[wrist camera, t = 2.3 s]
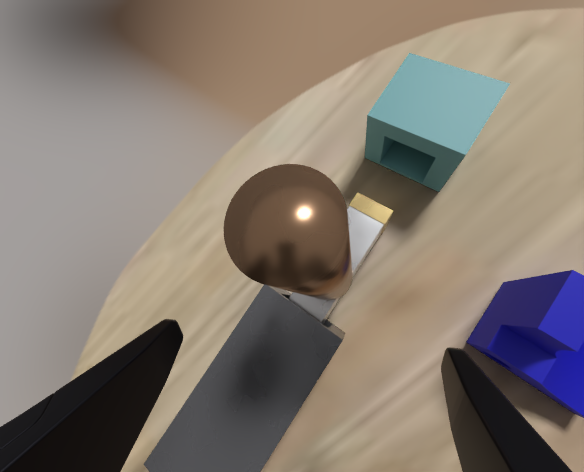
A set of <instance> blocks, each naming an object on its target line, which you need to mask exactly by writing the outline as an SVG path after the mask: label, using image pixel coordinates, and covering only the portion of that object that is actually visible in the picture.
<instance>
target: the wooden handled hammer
mask: <svg viewBox="0 0 584 472" xmlns="http://www.w3.org/2000/svg"><path fill="white" fill-rule="evenodd" d="M392 213H393V210H391V209H389V208H387V207H385V206H383V205H381V204H379V203H377V202H375V201H373V200H371V199H369V198H368V197H366V196H364V195H362V194H360V193H358V192H357V194H356V195H355V197H354V198H353V200H352V201H351V203H350V205H349V208H348V209H347V207H346V204H345V201H344V198H343V196H342V194H341V192H340V191H339V189H338V188H337V186H336V185H335V184H334V183H333V182H332V181H331V179H329V178H328V177H327V176H326V175H324V174H323V173H321V172H319V171H318V170H315V169H313V168H311V167H307V166H304V165H297V164H285V165H278V166H274V167H271V168H268V169H265V170H263V171H261V172H259V173H257V174H256V175H254V176H252V177H251V178H250V179H249V180H247V181H246V182H245V183H244V184H243V185H242V186H241V187H240V188H239V190H238V191H237V192H236V194H235V195H234V197H233V198H232V200H231V202H230V204H229V206H228V209H227V212H226V216H225V221H224V239H225V244H226V248H227V251H228V253H229V255H230V257H231V259H232V261H233V262H234V264H235V265H236V266H237V267H238V268H239V270H240V271H241V272H243V273H244V274H245V275H246V276H248V277H249V278H251V279H252V280H254V281H257V282H259V283H261V284H265V285H268V286H272V287H276V288H280V289H284V290H287V291H291V292H293V293H292V295H291V296H290V298H289V300H290V301H291V302H293V303H294V304H296V305H297V306H298V307H300V308H301V309H302V310H304V311H305V312H307V313H308V314H309V315H311V316H312V317H314V318H315V319H316V320H318V321H319V322H320V323H322V324H324V322H325V321H326V319H327V318H328V316H329V314H330V313H331V311H332V310H333V308H334V307H335V305H336V303H337V302H338V300H339V299H340V297H341V296H343V295H344V294H345V293H346V292H347V291H348V289H349V288H350V286H351V283H352V278H353V277H354V275H355V274H356V272H357V270H358V269H359V267H360V266H361V264H362V263H363V261H364V259H365V258H366V256H367V255H368V253H369V252H370V250H371V248H372V247H373V245H374V244H375V242H376V241H377V239H378V238H379V236H380V234H382V233H383V231H384V230H385V228H386V226H387V225H388V223H389V221H390V218H391V216H392Z"/></svg>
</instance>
